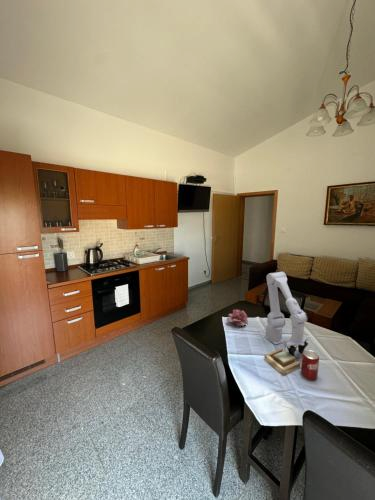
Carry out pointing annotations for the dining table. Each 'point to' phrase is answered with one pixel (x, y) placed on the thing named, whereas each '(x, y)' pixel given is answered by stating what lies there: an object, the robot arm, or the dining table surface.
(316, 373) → the soda can
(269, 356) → the bay
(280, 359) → the open box
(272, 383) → the dining table surface
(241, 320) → the flower
